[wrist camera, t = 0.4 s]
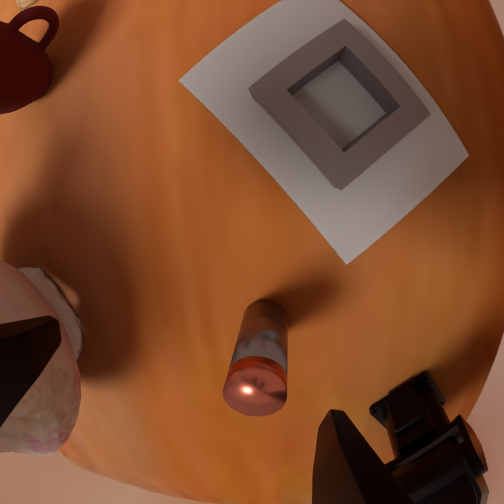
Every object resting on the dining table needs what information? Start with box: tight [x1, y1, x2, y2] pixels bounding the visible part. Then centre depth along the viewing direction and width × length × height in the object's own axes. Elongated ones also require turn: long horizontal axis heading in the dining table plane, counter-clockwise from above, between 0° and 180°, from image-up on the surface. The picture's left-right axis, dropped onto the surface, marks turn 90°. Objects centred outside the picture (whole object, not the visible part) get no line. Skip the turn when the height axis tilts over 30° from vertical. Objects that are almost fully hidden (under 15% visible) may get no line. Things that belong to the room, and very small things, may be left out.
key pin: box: [223, 300, 288, 416], centre depth 17 cm, size 3×3×8 cm
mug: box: [0, 6, 59, 114], centre depth 12 cm, size 10×8×10 cm
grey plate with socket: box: [179, 0, 469, 265], centre depth 14 cm, size 16×12×4 cm
